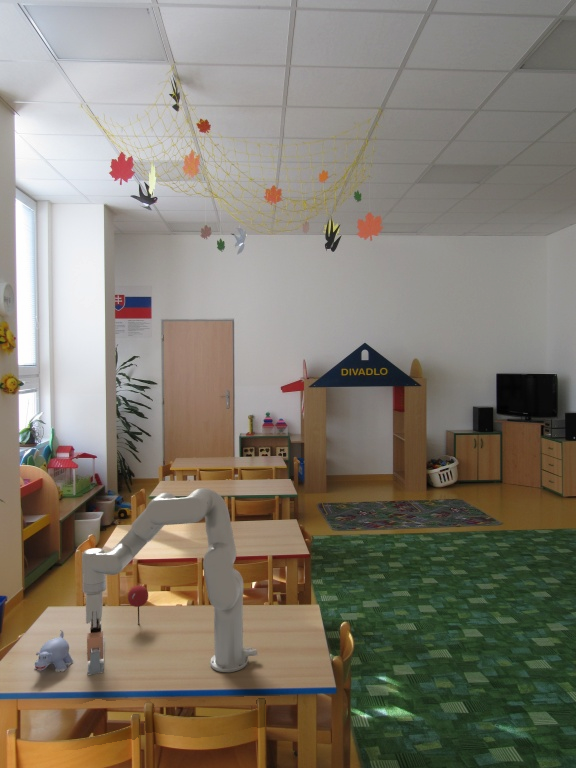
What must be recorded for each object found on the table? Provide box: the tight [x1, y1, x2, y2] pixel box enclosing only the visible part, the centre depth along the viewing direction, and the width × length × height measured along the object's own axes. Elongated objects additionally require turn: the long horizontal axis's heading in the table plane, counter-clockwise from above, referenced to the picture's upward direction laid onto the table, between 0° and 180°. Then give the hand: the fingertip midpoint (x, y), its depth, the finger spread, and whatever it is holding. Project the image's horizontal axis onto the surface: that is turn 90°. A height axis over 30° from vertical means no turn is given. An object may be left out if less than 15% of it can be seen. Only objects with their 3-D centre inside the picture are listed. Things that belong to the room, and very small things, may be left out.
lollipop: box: [127, 585, 149, 625], centre depth 227 cm, size 8×8×15 cm
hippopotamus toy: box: [33, 629, 74, 673], centre depth 196 cm, size 11×15×10 cm
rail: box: [86, 622, 105, 676], centre depth 203 cm, size 5×23×7 cm, turn 16°
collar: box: [86, 630, 105, 662], centre depth 197 cm, size 5×4×8 cm
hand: (95, 638), depth 201 cm, fingers closed
